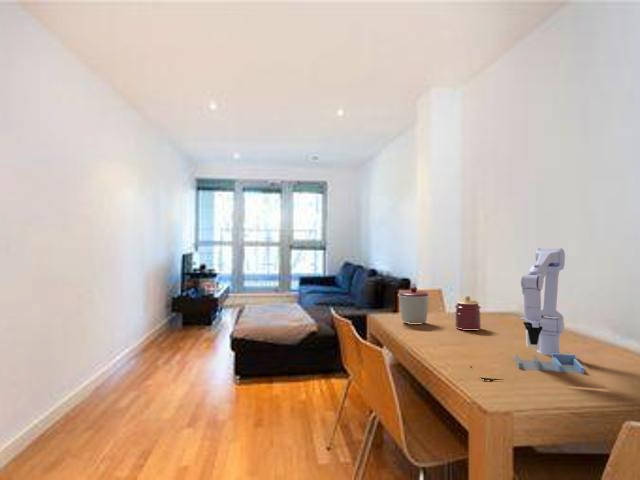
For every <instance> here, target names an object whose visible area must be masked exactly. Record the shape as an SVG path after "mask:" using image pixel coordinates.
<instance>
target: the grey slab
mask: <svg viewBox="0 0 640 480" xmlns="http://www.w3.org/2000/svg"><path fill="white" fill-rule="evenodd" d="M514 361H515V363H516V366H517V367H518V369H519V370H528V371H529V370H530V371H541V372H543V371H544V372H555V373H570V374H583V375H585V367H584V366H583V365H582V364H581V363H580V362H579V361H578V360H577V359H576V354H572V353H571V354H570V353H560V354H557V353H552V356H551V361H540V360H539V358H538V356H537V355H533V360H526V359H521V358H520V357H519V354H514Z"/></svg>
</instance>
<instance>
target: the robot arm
mask: <svg viewBox="0 0 640 480" xmlns="http://www.w3.org/2000/svg"><path fill="white" fill-rule="evenodd" d="M565 260H566V254H565V251H564V249H563V248H561V247H560V248H540V247H537V249H536V250H535V261H536V262H535V264H532V265H531V266H530V269H529V270H528V272H527V273H526V274H524V275H522V276H521V279H520V286H521V289H522V290H521V292H522V295H523V317H522V316H521V317H520V320H521V321H523V322H522V323H523V324H524V328H525V331H526V330H527V331H528V334H529V339H530V343H531V344H532V345H537V343H538V339H539V349H537V350H536V352H537V353H539V354H540V355H543V356H548V357H552V353H557V354H561V353H560V335H562V334H564V330H565V322H564V320H565V319H564V316H563V314H562V313H560V312H559V311H558V310H557V306H558V305H557V303H558V302H557V301H558V289H559V287H558V286H559V275H560V271H562V270H564V269H565V265H566V264H565V262H566V261H565ZM543 287H544V291H543V293H544V294H543V306H542V290H543ZM542 307H543V308H542Z"/></svg>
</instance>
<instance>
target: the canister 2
mask: <svg viewBox="0 0 640 480" xmlns="http://www.w3.org/2000/svg"><path fill="white" fill-rule="evenodd" d="M479 304H480V302H479V301H477V300H476V299H471V297H470V296H469V295H466V296H465V297H464V298H461V299H459V300H457V301H456V305H454V307H455V312H454V313H455V326H454V327H455V328H456V327H458V328H462V329H480V330H481V328H482V327H481V326H482V323H481V320H482V319H481V314H482V313H481V312H480V311H481V306H480V305H479Z"/></svg>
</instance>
